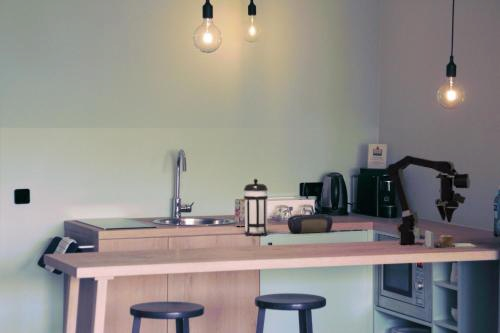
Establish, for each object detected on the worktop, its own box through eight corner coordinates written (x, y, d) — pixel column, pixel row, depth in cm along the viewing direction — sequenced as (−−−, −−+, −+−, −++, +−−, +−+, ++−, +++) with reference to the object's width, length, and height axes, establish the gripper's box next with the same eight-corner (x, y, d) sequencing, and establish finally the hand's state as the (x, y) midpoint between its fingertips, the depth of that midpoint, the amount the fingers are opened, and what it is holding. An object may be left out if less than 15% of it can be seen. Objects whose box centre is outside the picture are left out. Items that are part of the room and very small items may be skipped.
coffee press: (234, 235, 432) (234, 179, 431) (256, 232, 443) (255, 178, 443) (257, 237, 420) (257, 179, 419) (279, 235, 431) (278, 178, 430)
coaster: (456, 247, 375) (456, 245, 375) (451, 245, 384) (451, 243, 384) (475, 247, 375) (475, 245, 375) (469, 245, 384) (469, 243, 384)
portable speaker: (293, 234, 434) (293, 216, 434) (286, 233, 443) (286, 214, 443) (335, 232, 442) (335, 214, 442) (328, 231, 452) (327, 213, 451)
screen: (429, 248, 373) (429, 233, 373) (423, 245, 384) (423, 230, 384) (435, 248, 374) (435, 232, 373) (429, 245, 385) (429, 230, 384)
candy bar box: (239, 227, 473) (239, 199, 472) (234, 227, 477) (234, 199, 476) (254, 226, 480) (254, 198, 479) (249, 225, 484) (248, 198, 483)
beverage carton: (404, 239, 411) (404, 226, 411) (396, 235, 430) (396, 222, 430) (420, 239, 412) (420, 226, 411) (411, 235, 431) (411, 222, 431)
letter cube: (442, 247, 377) (442, 236, 376) (439, 246, 382) (439, 235, 382) (453, 247, 377) (453, 236, 377) (450, 246, 382) (450, 235, 382)
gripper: (469, 189, 370) (469, 223, 370) (457, 186, 388) (457, 219, 389) (445, 189, 369) (445, 223, 370) (434, 186, 388) (434, 219, 388)
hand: (446, 221), depth 379 cm, fingers open, 9 cm apart
